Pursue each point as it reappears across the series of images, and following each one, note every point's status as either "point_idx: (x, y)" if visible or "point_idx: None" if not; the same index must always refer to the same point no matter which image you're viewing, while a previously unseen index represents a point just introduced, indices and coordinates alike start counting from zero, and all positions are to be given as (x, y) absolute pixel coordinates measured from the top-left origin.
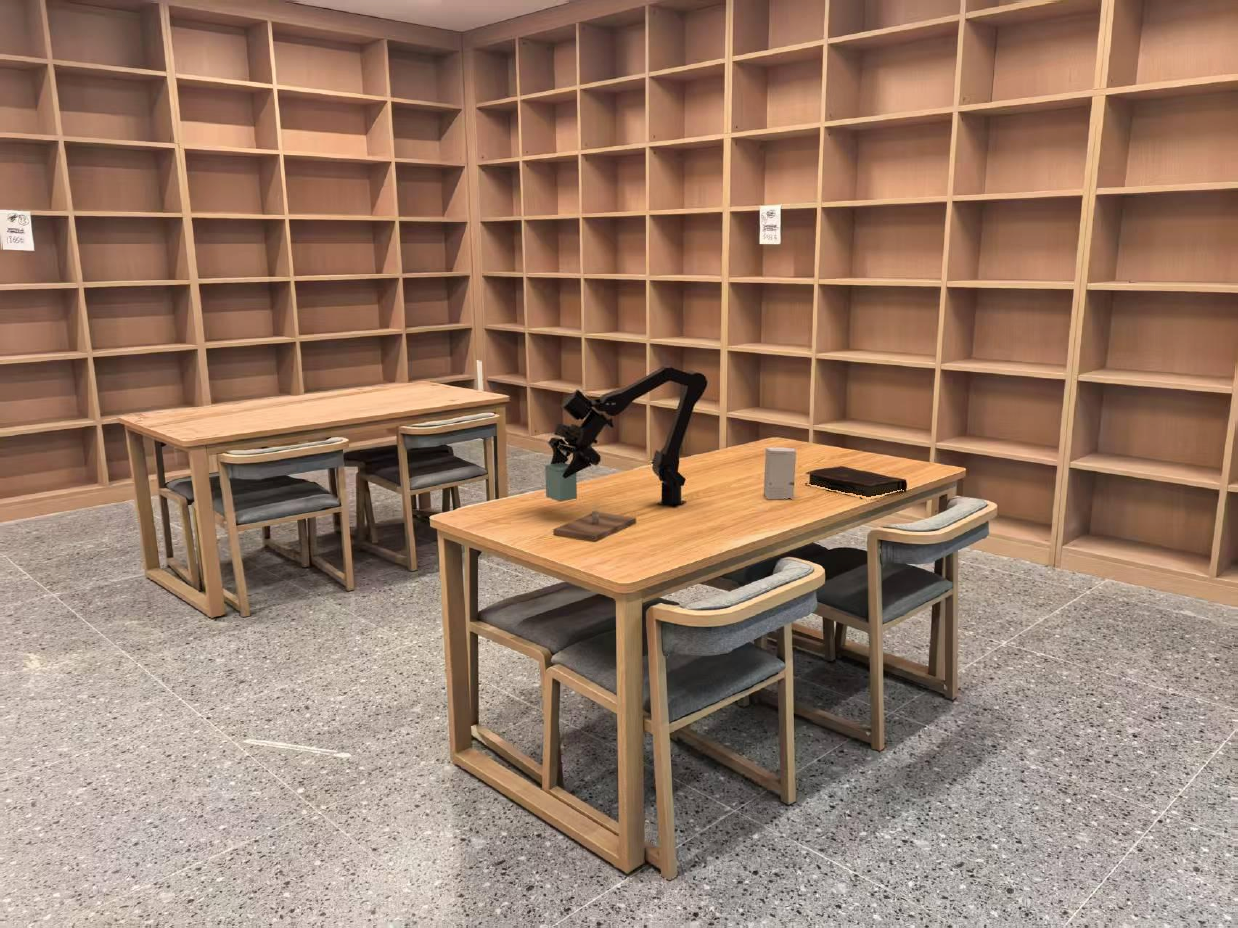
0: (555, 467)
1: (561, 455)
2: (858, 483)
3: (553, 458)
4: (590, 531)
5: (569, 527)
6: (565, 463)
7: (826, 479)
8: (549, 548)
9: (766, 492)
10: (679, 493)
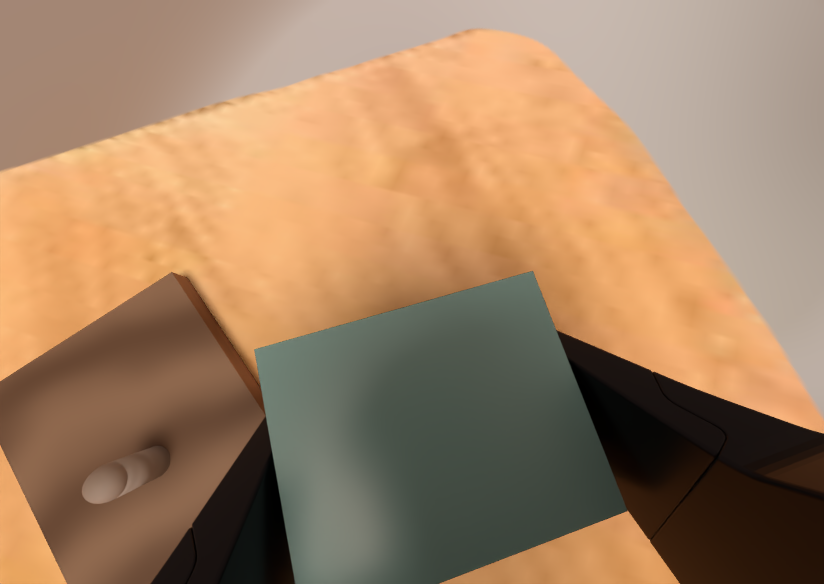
0: (371, 340)
1: (765, 576)
2: None
3: (671, 400)
4: (51, 397)
5: (158, 335)
6: (555, 537)
7: None
8: (46, 221)
9: None
10: None
